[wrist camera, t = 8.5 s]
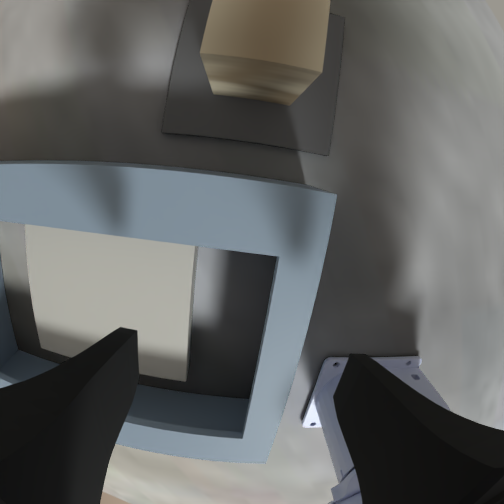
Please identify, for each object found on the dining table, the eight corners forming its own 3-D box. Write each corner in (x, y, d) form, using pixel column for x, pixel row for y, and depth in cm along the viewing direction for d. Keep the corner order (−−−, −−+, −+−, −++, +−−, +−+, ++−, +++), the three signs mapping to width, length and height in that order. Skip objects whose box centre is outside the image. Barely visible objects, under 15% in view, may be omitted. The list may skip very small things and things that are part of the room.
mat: (342, 20, 15) (344, 17, 14) (326, 155, 18) (328, 155, 17) (192, -3, 14) (191, -7, 13) (163, 133, 17) (161, 132, 16)
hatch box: (305, 184, 18) (337, 194, 12) (259, 407, 23) (265, 463, 17) (-9, 161, 16) (-61, 167, 10) (13, 355, 21) (-18, 390, 15)
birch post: (299, 41, 15) (331, -14, 8) (289, 105, 16) (322, 72, 9) (226, 30, 14) (222, -33, 8) (213, 94, 16) (199, 53, 9)
